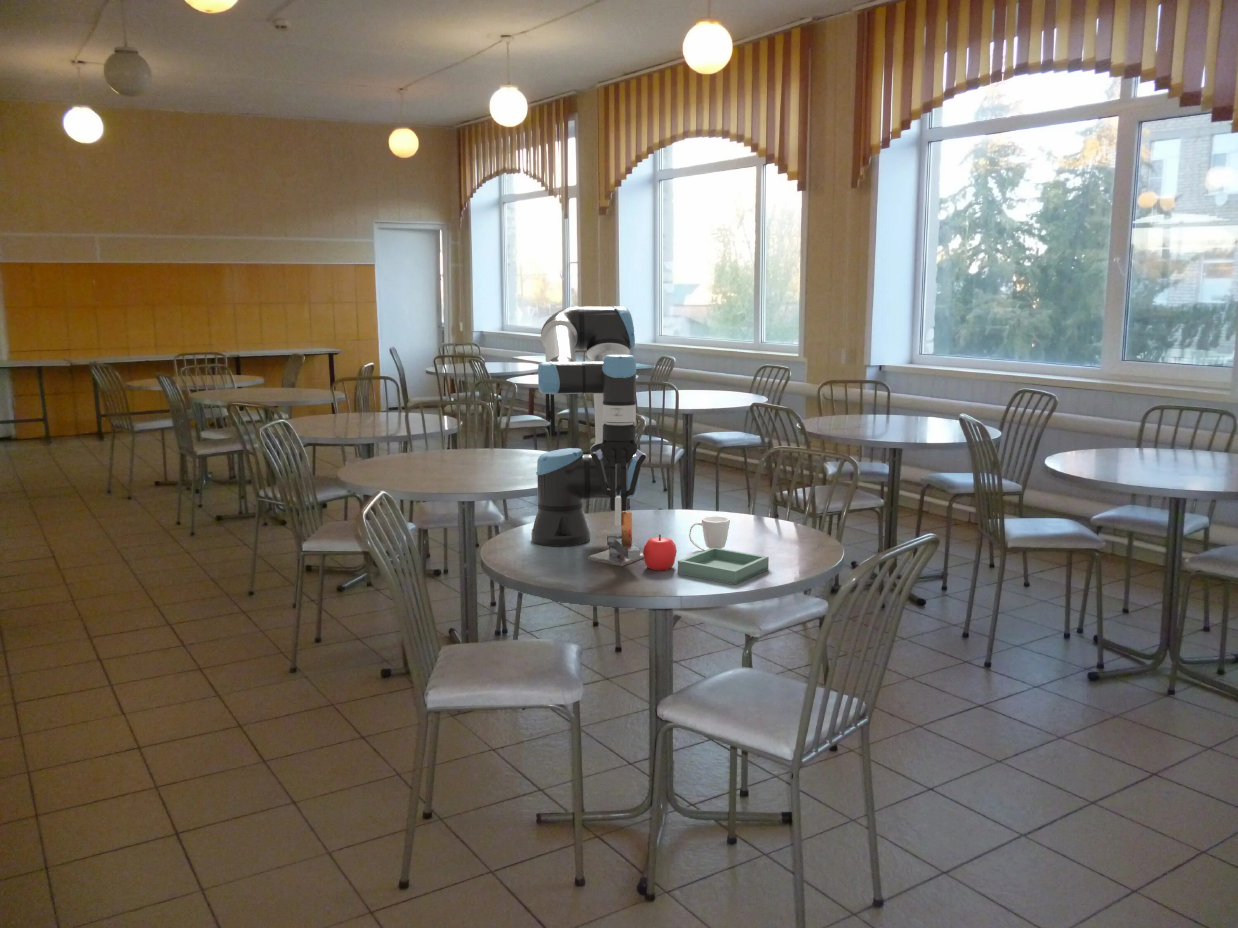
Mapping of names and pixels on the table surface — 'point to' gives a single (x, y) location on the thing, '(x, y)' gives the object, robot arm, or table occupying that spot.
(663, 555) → the apple
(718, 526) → the cup
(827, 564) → the table surface
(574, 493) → the robot arm
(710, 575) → the tray
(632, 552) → the crank
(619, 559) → the crank post
